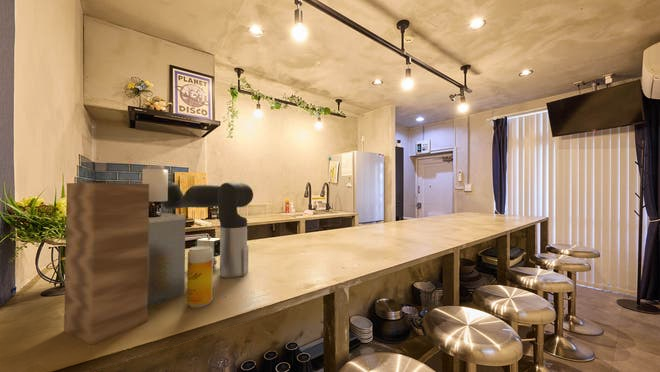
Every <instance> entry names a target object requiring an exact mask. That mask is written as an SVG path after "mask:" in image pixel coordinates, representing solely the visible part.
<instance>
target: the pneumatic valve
mask: <svg viewBox="0 0 660 372" xmlns="http://www.w3.org/2000/svg"><path fill="white" fill-rule="evenodd" d="M195 246H211V248H212V250H213V267H215V266H216V265H217V262H218V261H217V257H220V237H219V238H218V237H217V238H215V237H211V236H210V235H209V236H208V237H202V238H197V239H195V242H193V243H192V247H195Z"/></svg>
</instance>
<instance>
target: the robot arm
mask: <svg viewBox="0 0 660 372" xmlns="http://www.w3.org/2000/svg"><path fill="white" fill-rule="evenodd" d="M253 199H254V191H253V189H252V188H251V186H249V185H248V184H246V183H244V182H224V183H222V184H221V185H211V184H202V185H201V184H200V185H199V184H198V185H193V186H192V185H191V187H189V188H188V189H187V190H186V191H185V192H184V193H183V192H182V189H181V188H180V186H179V184H178V183H177V182H168V201H159V202H160V204H161V205H162V207H163V209H167V210H174V209H175V210H177V209H184V208H202V209H203V208H204V209H205V208H213V207H214V208H215V207H217V214H218V220H219V225H220V227H219V230H220V231H219V239H220V255H219V276H220V277H221V278H228V279H229V278H237V277H243V276H244V277H245V276H246V274H247V273H248V271H249V245H248V219H247V218H246V217H245V216H243V215H242V216H241V215H240V214H239V213H238V212H239V211H238V208H244V207H247V206H248V205H249V204H250V203H251V202H252V201H253ZM152 203H153V202H149V207H150V206H151V204H152Z"/></svg>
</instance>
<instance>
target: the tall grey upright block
mask: <svg viewBox="0 0 660 372" xmlns="http://www.w3.org/2000/svg"><path fill="white" fill-rule="evenodd" d="M185 264H186V214H180V213H179V214H177V213H160V216H156V217H149V228H148V299H147V309H150V308H153V307H155V306H158V305H160V304H162V303H165V302H168V301H170V300H172V299H175V298H178V297H180V296H183V295H185V289H186V288H185V285H186V284H185V280H186V278H185V277H186V276H185V274H186V273H185V271H186V269H185V268H186V265H185ZM167 300H168V301H167Z"/></svg>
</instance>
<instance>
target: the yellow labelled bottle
mask: <svg viewBox="0 0 660 372" xmlns="http://www.w3.org/2000/svg"><path fill="white" fill-rule="evenodd" d="M213 274H214V266H213V250H212V248H211V246H195V247H193V246H192V247H190V248H189V249H188V252H187V279H186V280H187V282H186V284H187V285H186V287H187V289H186V290H187V293H186V299H187V302H186V303H187V305H188V306H189V307H190V308H195V309H196V308H203V307H205V306H208V305H209V304H210V303H211V302H212V300H213V295H214V294H213V293H214V292H213V289H214V286H213V284H214V281H213V279H214V277H213Z"/></svg>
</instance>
